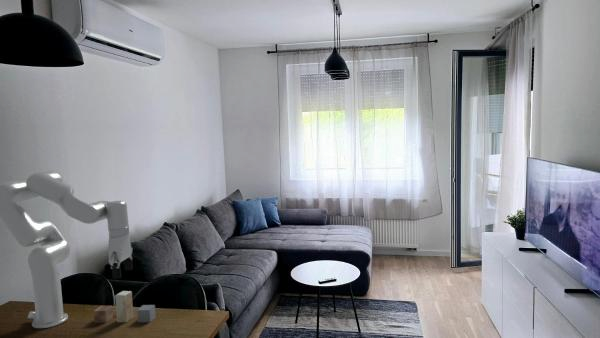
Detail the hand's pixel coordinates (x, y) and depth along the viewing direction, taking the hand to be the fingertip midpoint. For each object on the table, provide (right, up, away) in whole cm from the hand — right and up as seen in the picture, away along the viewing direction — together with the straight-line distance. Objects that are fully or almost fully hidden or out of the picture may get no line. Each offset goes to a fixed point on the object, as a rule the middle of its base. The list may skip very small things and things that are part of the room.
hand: (123, 273), depth 166 cm
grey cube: (+9, -19, +1) cm, 21 cm away
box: (0, -19, +1) cm, 19 cm away
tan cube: (-9, -19, +2) cm, 21 cm away
